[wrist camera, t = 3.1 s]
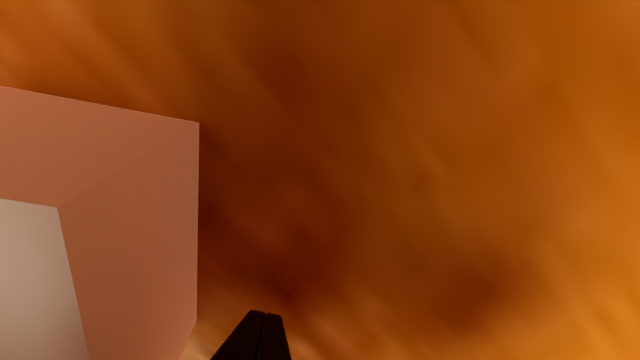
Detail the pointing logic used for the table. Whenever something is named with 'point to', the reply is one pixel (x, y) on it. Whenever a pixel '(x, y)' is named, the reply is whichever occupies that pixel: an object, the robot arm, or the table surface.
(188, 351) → the table surface
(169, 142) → the block
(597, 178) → the table surface
